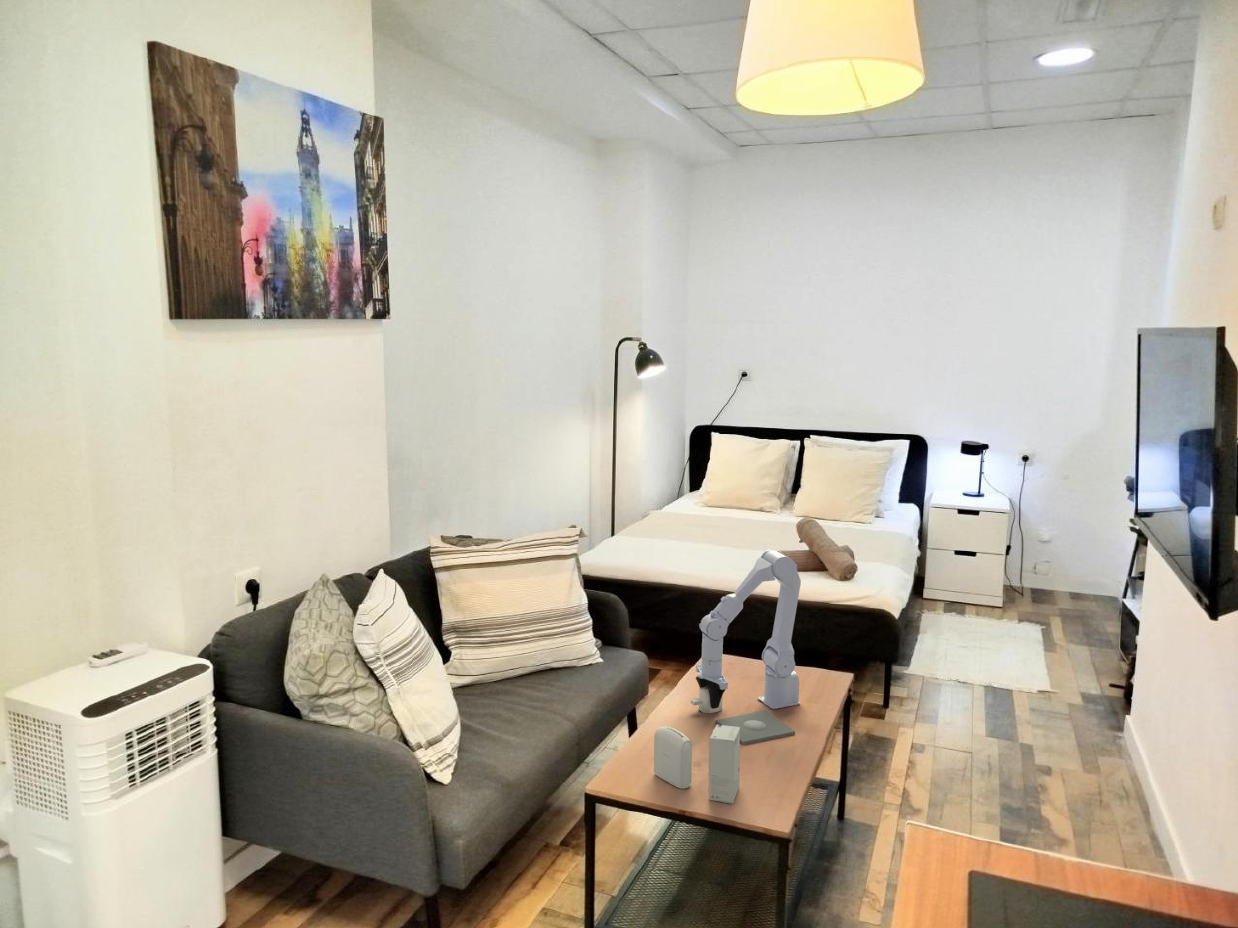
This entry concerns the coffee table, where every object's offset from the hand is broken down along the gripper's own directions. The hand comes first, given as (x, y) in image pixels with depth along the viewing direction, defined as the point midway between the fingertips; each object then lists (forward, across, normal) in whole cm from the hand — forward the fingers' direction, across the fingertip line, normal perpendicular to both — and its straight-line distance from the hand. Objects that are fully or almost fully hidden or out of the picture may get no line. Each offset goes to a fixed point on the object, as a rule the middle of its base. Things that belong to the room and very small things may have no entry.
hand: (710, 704), depth 242 cm
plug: (+1, 0, -1) cm, 2 cm away
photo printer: (+2, +31, -28) cm, 42 cm away
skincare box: (+2, +41, -20) cm, 46 cm away
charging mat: (+1, +15, +5) cm, 16 cm away
